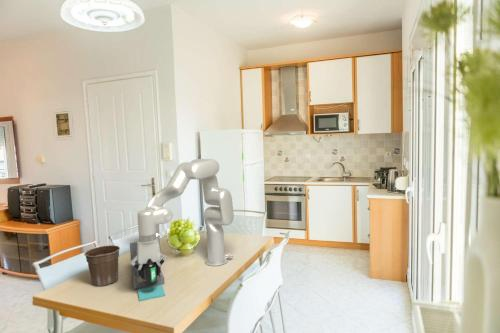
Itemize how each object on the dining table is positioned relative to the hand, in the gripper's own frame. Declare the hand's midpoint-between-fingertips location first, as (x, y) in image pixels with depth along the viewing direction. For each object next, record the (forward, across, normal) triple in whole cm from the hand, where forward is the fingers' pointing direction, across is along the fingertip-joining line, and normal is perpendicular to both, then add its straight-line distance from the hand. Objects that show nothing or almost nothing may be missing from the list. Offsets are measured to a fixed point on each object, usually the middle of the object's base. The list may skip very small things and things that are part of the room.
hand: (150, 275), depth 151 cm
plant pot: (+9, +20, -25) cm, 33 cm away
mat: (+8, 0, 0) cm, 8 cm away
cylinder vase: (+8, -6, -65) cm, 66 cm away
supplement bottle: (+4, 0, 0) cm, 4 cm away
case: (+8, 0, -17) cm, 19 cm away
